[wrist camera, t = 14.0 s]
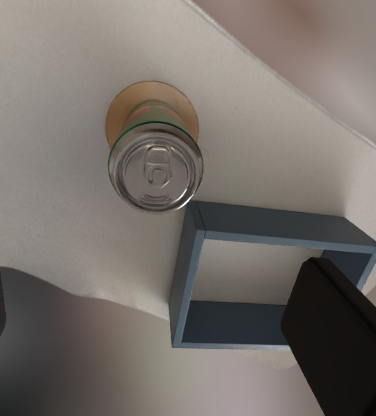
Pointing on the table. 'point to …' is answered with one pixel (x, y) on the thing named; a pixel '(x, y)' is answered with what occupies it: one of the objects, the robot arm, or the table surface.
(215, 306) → the frame
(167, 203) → the soda can
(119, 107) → the coaster
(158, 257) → the table surface
